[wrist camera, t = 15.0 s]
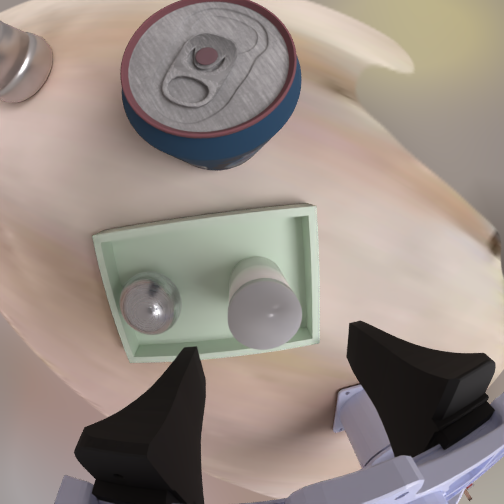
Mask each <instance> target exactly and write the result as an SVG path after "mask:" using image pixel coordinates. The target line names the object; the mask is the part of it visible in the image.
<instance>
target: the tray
mask: <svg viewBox="0 0 504 504" xmlns="http://www.w3.org/2000/svg"><path fill="white" fill-rule="evenodd" d="M92 238H93V243H94V247H95V252H96V256H97V261H98V265H99V269H100V273H101V277H102V281H103V284H104V288H105V292H106V295H107V299H108V302H109V305H110V308H111V312H112V315H113V318H114V321H115V324H116V327H117V330H118V333H119V335H120V338H121V341H122V344H123V346H124V349H125V352H126V354H127V357H128V359H129V362H130V363H149V362H173V361H174V360H175V358H176V357H177V356H178V354H179V353H180V352H181V350H182V349H183V348H184V347H194V346H197V349H198V353H199V357H200V360H204V359H215V358H225V357H234V356H243V355H251V354H258V353H265V352H272V351H279V350H285V349H291V348H296V347H302V346H307V345H313V344H318V343H319V342H320V277H319V245H318V225H317V209H316V206H315V205H311V204H308V203H304V204H293V205H283V206H273V207H263V208H254V209H246V210H237V211H229V212H221V213H213V214H205V215H198V216H190V217H183V218H176V219H170V220H163V221H156V222H150V223H144V224H138V225H132V226H126V227H120V228H114V229H108V230H104V231H102V232H99V233H97V234H95V235H93V236H92ZM255 256H259V257H265V258H268V259H270V260H272V261H273V262H275V263H276V264H277V265H278V267H279V268H280V270H281V272H282V273H283V275H284V277H285V279H286V281H287V282H288V284H289V286H290V288H291V289H292V291H293V292H294V294H295V295H296V297H297V299H298V301H299V303H300V305H301V309H302V321H301V324H300V327H299V329H298V331H297V332H296V334H295V335H294V336H293V337H292V338H291V339H290V340H289V341H288V342H286V343H285V344H283V345H281V346H279V347H276V348H273V349H267V350H258V349H253V348H249V347H247V346H245V345H243V344H241V343H240V342H239V341H237V340H236V339H235V338H234V336H233V335H232V333H231V331H230V329H229V326H228V305H229V279H230V275H231V272H232V270H233V269H234V267H235V266H236V265H237V264H238V263H239V262H241V261H242V260H244V259H246V258H249V257H255ZM147 271H152V272H158V273H161V274H163V275H165V276H167V277H168V278H169V279H171V280H172V281H173V283H174V284H175V285H176V287H177V288H178V290H179V293H180V296H181V301H182V308H181V313H180V316H179V318H178V320H177V322H176V323H175V324H174V326H173V327H172V328H170V329H169V330H167V331H166V332H164V333H161V334H157V335H146V334H142V333H139V332H137V331H136V330H134V329H133V328H131V327H130V326H129V325H128V324H127V322H126V321H125V319H124V318H123V316H122V313H121V310H120V295H121V291H122V289H123V287H124V285H125V284H126V282H127V281H128V280H129V279H130V278H131V277H133V276H134V275H136V274H138V273H141V272H147Z"/></svg>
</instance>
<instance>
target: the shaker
mask: <svg viewBox="0 0 504 504" xmlns="http://www.w3.org/2000/svg"><path fill="white" fill-rule="evenodd" d="M301 321H302V309H301V305H300V303H299V301H298V299H297V297H296V295H295V294H294V292H293V291H292V289H291V288H290V286H289V284H288V282H287V281H286V279H285V277H284V275H283V273H282V272H281V270H280V268H279V267H278V265H277V264H276V263H275V262H273V261H272V260H270V259H268V258H265V257H259V256H255V257H249V258H246V259H244V260H242V261H241V262H239V263H238V264H237V265H236V266H235V267H234V269H233V270H232V272H231V275H230V279H229V305H228V326H229V329H230V331H231V333H232V335H233V336H234V338H235V339H236V340H237V341H239V342H240V343H241V344H243V345H245V346H247V347H249V348H253V349H258V350H267V349H273V348H276V347H279V346H281V345H283V344H285V343H286V342H288V341H289V340H290V339H291V338H292V337H293V336H294V335H295V334H296V332H297V331H298V329H299V327H300V324H301Z"/></svg>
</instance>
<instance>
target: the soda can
mask: <svg viewBox="0 0 504 504" xmlns="http://www.w3.org/2000/svg"><path fill="white" fill-rule="evenodd" d="M120 74H121V85H122V100H123V105H124V109H125V112H126V115H127V117H128V119H129V121H130V123H131V124H132V126H133V128H134V129H135V130H136V132H137V133H138V134H139V135H140V136H141V137H142V138H143V139H144V140H145V141H147V142H148V143H149V144H150V145H152V146H153V147H155V148H157V149H158V150H160V151H162V152H164V153H167V154H169V155H171V156H174V157H176V158H178V159H180V160H183V161H185V162H187V163H189V164H192V165H194V166H196V167H199V168H202V169H207V170H225V169H230V168H233V167H236V166H238V165H240V164H242V163H244V162H246V161H247V160H249V159H250V158H251V157H252V156H253V155H254V154H255V153H256V152H258V151H259V150H260V149H261V148H262V147H263V146H264V145H265V144H266V143H267V142H268V141H269V140H270V139H271V138H272V137H273V136H274V135H275V134H276V133H277V132H278V131H279V130H280V129H281V128H282V127H283V126H284V125H285V123H286V122H287V121H288V119H289V118H290V116H291V115H292V113H293V111H294V109H295V107H296V104H297V102H298V99H299V95H300V90H301V69H300V64H299V61H298V58H297V55H296V49H295V45H294V42H293V39H292V37H291V35H290V33H289V31H288V30H287V28H286V27H285V25H284V24H283V23H282V22H281V21H280V20H279V19H278V18H277V17H276V16H275V15H274V14H273V13H272V12H270V11H269V10H267V9H266V8H264V7H263V6H261V5H259V4H257V3H255V2H252V1H250V0H181V1H178V2H175V3H173V4H170V5H168V6H166V7H164V8H163V9H161V10H159V11H157V12H156V13H154V14H153V15H152V16H150V17H149V18H148V19H147V20H146V21H145V22H144V23H143V24H142V25H141V26H140V27H139V28H138V29H137V31H136V32H135V33H134V35H133V36H132V38H131V39H130V41H129V43H128V45H127V47H126V49H125V52H124V55H123V59H122V63H121V73H120Z"/></svg>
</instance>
